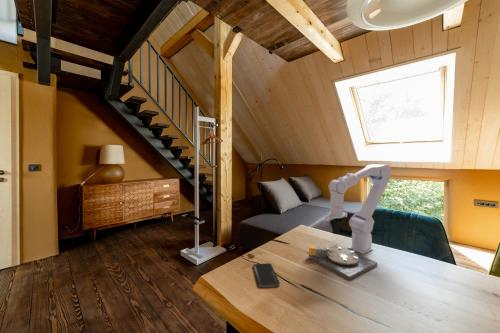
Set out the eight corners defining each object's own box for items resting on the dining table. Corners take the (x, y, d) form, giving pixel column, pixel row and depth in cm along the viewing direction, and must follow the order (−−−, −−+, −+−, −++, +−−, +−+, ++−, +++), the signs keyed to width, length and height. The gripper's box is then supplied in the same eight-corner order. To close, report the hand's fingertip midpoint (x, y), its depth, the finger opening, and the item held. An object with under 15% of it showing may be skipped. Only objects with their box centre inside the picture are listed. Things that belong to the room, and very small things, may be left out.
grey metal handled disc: (308, 247, 103) (308, 241, 103) (354, 252, 99) (354, 245, 99) (309, 260, 91) (309, 253, 91) (362, 267, 86) (362, 259, 86)
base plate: (335, 248, 108) (336, 244, 108) (377, 265, 91) (377, 262, 91) (308, 258, 97) (308, 254, 97) (349, 280, 80) (349, 276, 80)
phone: (258, 286, 75) (252, 264, 90) (258, 289, 75) (252, 266, 90) (280, 284, 76) (271, 263, 91) (280, 287, 76) (271, 265, 91)
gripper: (338, 202, 109) (337, 228, 109) (319, 205, 101) (318, 233, 102) (351, 205, 103) (350, 232, 103) (332, 208, 95) (331, 238, 96)
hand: (335, 233), depth 102 cm, fingers closed
